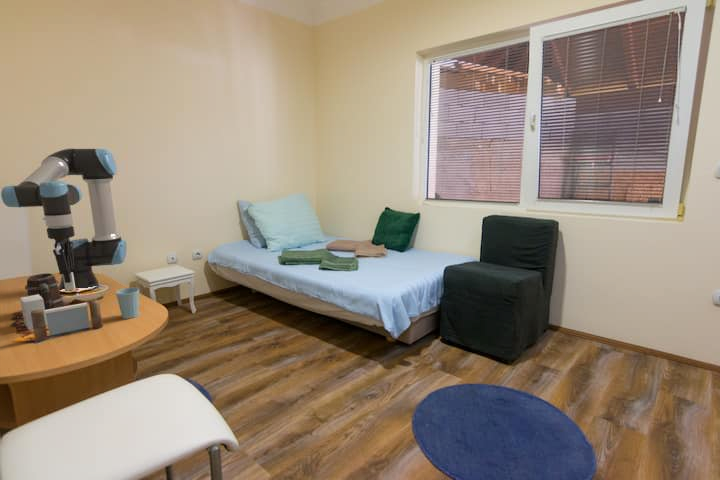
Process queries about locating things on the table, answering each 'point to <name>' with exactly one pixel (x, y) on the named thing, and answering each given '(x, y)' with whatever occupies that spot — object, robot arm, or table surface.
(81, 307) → the white thick panel
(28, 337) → the table surface
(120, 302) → the cup
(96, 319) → the posts
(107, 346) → the table surface
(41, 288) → the mug
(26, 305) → the small box
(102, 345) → the table surface
